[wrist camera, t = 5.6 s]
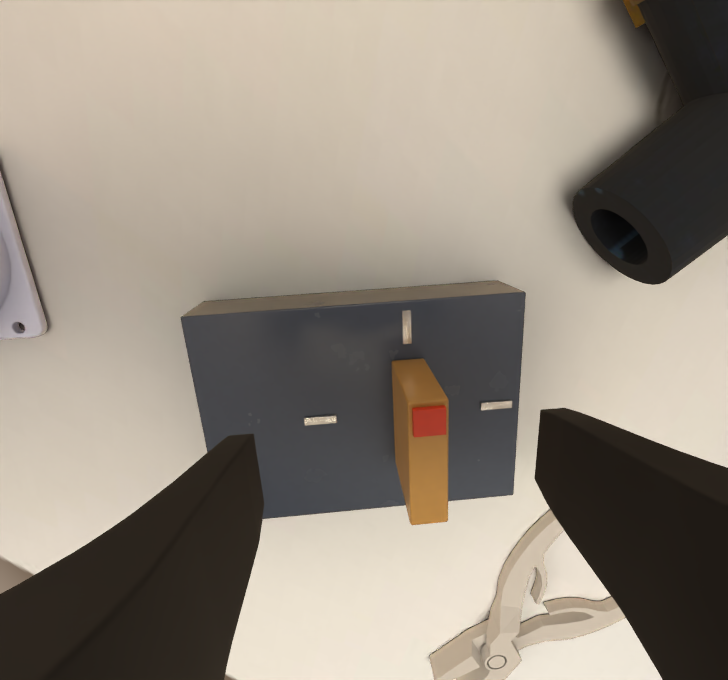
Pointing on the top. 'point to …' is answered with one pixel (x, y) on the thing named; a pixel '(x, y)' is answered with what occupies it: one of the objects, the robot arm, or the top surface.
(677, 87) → the pipe connector
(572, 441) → the robot arm
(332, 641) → the top surface
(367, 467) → the dark slotted flat block
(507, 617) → the pliers
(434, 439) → the tan upright tile
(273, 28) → the top surface
